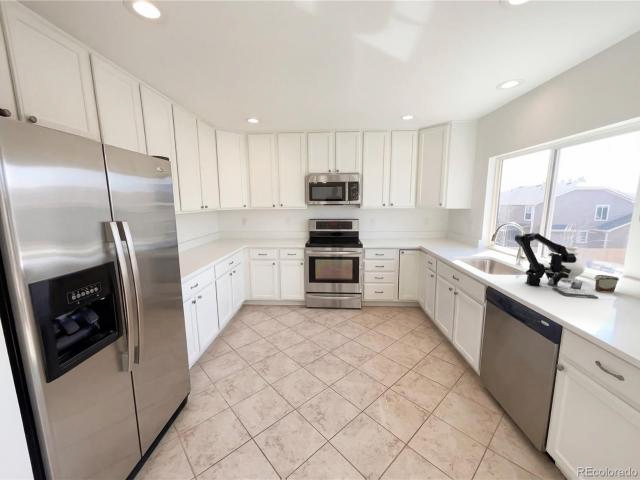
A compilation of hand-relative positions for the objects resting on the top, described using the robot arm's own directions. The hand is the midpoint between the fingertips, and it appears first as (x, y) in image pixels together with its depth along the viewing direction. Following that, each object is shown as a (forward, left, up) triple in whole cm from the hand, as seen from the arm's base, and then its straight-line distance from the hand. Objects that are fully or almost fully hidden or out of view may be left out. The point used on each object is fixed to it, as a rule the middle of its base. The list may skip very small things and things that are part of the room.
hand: (552, 283), depth 174 cm
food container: (+25, -4, -1) cm, 25 cm away
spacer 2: (+11, -4, -1) cm, 12 cm away
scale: (+3, -16, -1) cm, 16 cm away
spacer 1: (0, 0, -1) cm, 1 cm away
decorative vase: (+18, +19, -1) cm, 26 cm away
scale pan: (+3, -16, 0) cm, 16 cm away
